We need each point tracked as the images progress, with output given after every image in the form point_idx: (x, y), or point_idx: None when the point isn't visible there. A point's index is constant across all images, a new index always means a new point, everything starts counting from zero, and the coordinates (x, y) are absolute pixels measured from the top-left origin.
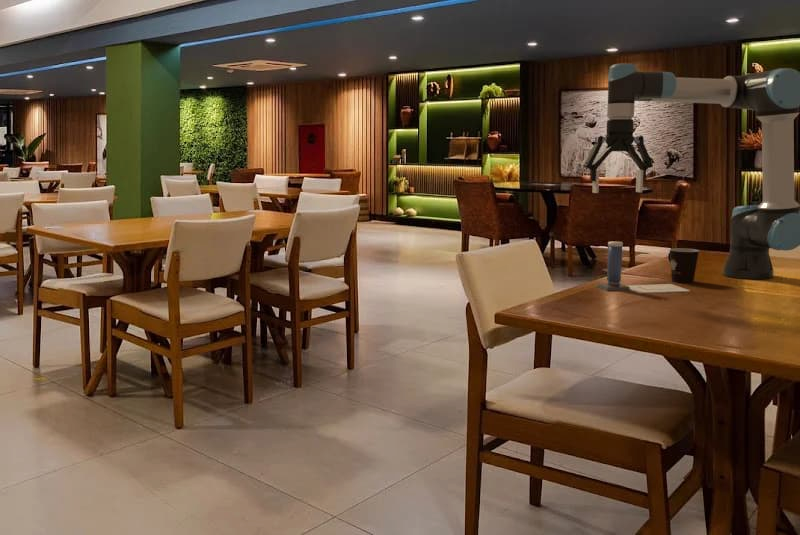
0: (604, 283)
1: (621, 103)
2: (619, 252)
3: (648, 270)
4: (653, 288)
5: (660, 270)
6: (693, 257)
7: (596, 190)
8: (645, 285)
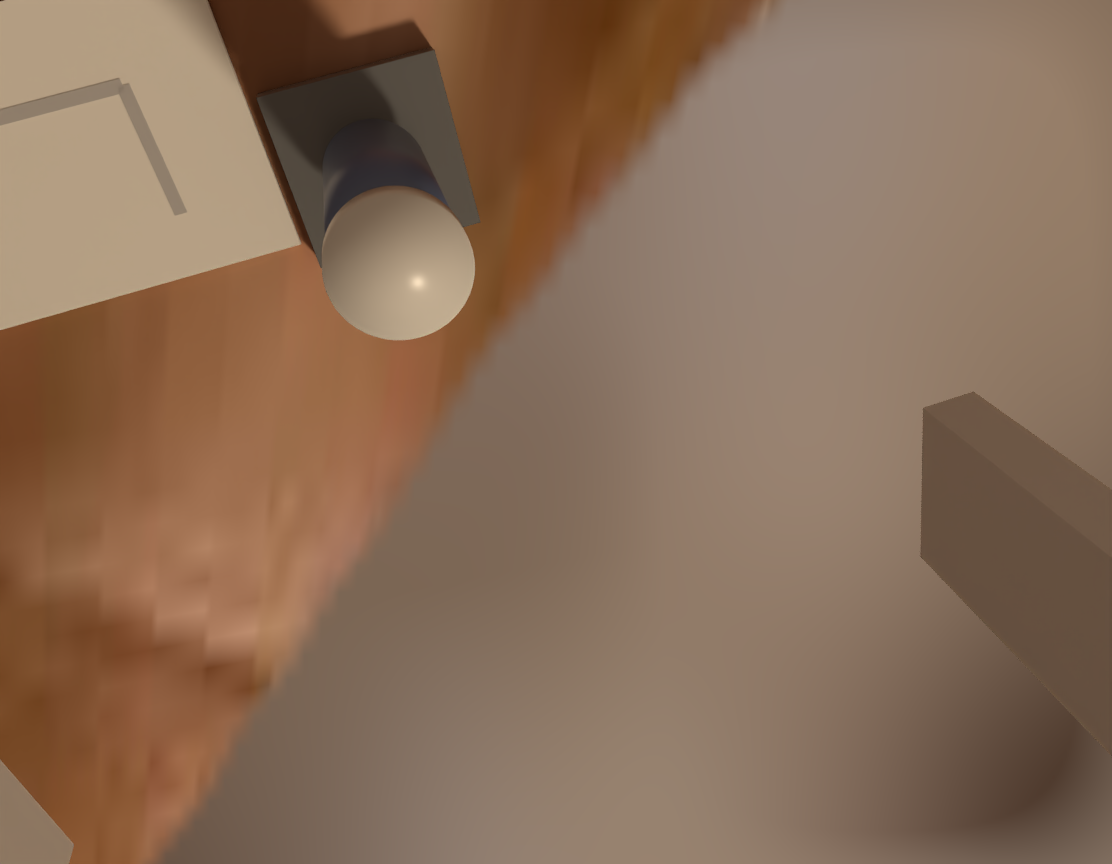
0: None
1: None
2: (356, 181)
3: (91, 802)
4: (61, 149)
5: None
6: None
7: (1001, 419)
8: (124, 271)
